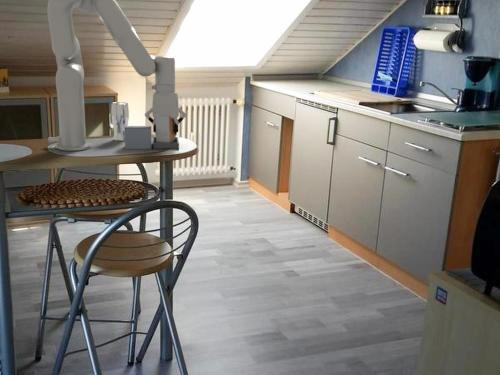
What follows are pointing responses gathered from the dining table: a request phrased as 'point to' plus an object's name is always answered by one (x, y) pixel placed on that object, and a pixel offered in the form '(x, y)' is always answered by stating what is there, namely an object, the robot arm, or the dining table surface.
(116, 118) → the beer glass
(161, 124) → the small box
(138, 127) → the grey rectangular block
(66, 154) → the dining table surface
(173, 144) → the tray
